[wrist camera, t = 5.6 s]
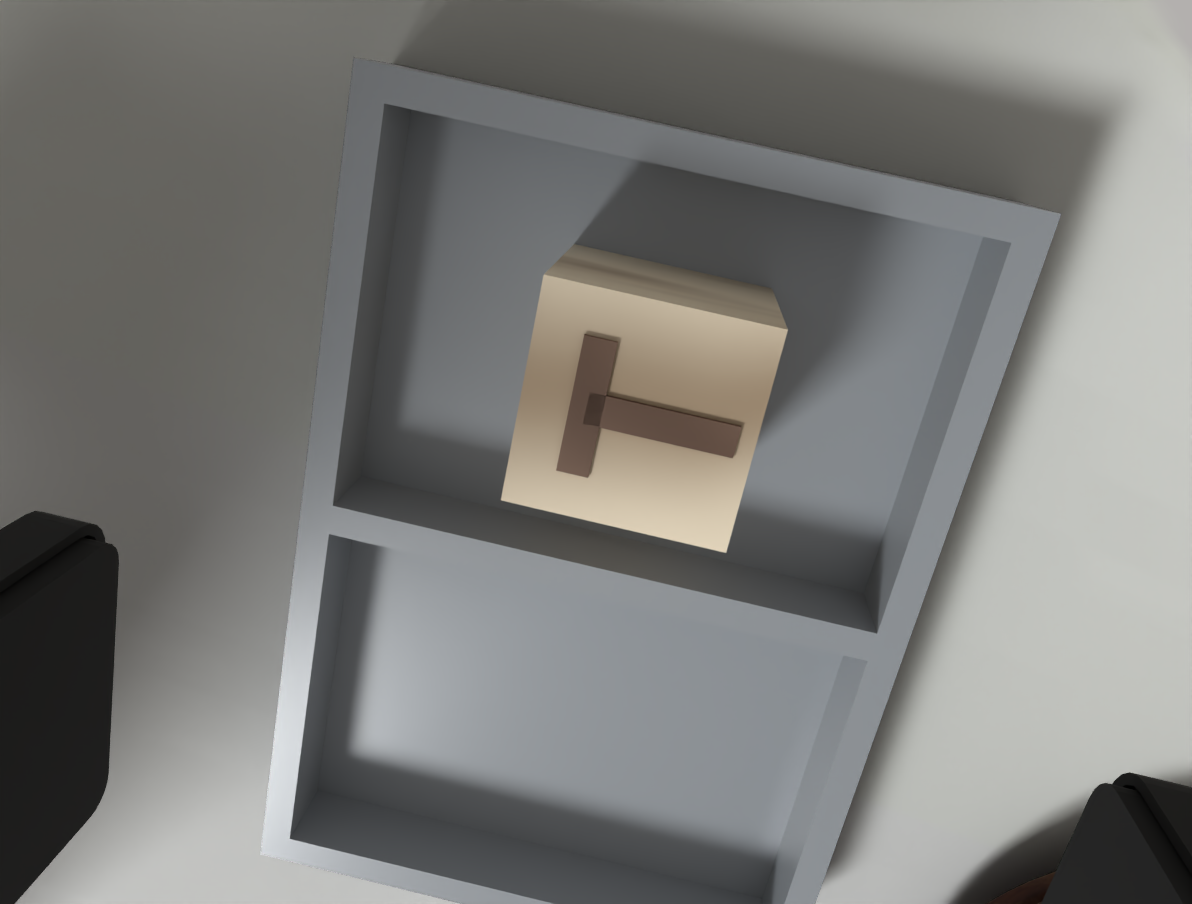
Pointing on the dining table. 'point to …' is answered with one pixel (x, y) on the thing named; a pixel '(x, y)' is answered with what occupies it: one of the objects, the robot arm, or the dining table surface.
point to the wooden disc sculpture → (1026, 892)
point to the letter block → (643, 396)
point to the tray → (605, 553)
